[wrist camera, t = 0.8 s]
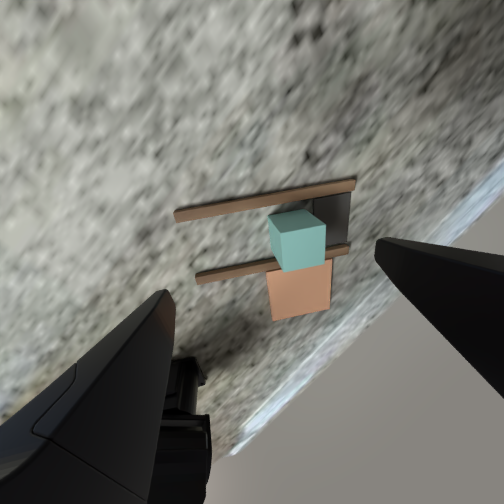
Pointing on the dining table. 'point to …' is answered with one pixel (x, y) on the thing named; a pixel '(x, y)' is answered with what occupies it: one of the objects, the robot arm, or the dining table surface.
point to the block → (297, 239)
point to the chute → (324, 208)
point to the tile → (299, 290)
